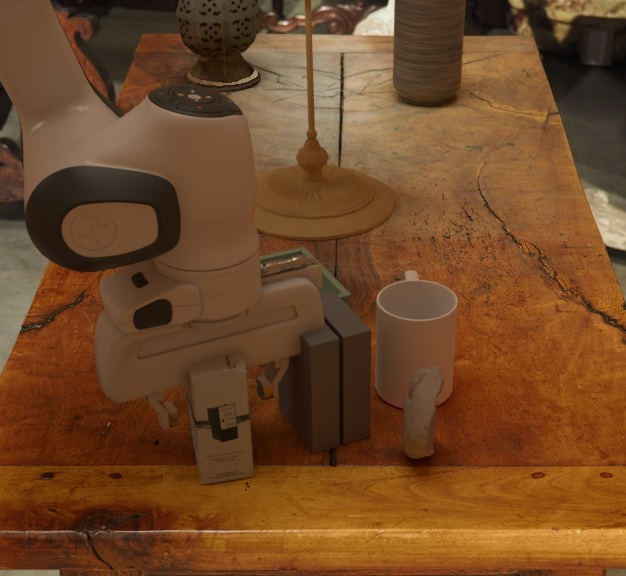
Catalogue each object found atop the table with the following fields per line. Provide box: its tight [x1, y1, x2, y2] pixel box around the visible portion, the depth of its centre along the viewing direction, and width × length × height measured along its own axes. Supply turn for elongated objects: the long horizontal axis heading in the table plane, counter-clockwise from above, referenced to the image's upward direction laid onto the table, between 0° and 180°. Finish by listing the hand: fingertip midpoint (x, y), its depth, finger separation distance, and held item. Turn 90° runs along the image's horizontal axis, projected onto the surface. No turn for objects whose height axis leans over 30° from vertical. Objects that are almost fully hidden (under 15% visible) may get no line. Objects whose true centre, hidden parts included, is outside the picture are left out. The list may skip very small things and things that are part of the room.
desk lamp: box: [221, 0, 396, 242], centre depth 136 cm, size 31×23×40 cm
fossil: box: [401, 366, 444, 460], centre depth 97 cm, size 6×4×10 cm, turn 167°
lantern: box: [175, 0, 262, 93], centre depth 184 cm, size 14×14×25 cm
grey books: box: [278, 290, 372, 455], centre depth 101 cm, size 6×8×12 cm
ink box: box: [186, 352, 255, 485], centre depth 96 cm, size 9×5×12 cm, turn 15°
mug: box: [374, 270, 459, 409], centre depth 108 cm, size 12×8×10 cm, turn 3°
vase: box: [392, 0, 467, 107], centre depth 178 cm, size 12×12×23 cm
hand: (219, 409), depth 97 cm, fingers open, 8 cm apart
